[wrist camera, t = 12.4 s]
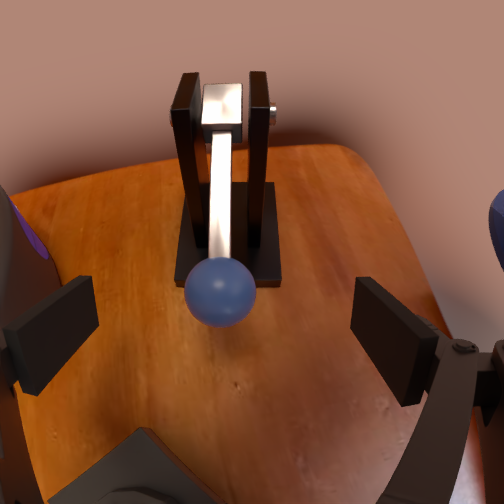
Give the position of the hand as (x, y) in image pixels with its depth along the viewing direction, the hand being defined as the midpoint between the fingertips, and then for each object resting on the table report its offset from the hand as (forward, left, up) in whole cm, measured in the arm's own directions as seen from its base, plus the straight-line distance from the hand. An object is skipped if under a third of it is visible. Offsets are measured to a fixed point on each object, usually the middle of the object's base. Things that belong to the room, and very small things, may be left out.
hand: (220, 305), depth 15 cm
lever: (+4, -4, 0) cm, 6 cm away
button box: (-6, +13, -8) cm, 16 cm away
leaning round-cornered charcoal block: (+16, +10, -9) cm, 21 cm away
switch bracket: (+7, -7, -8) cm, 13 cm away
